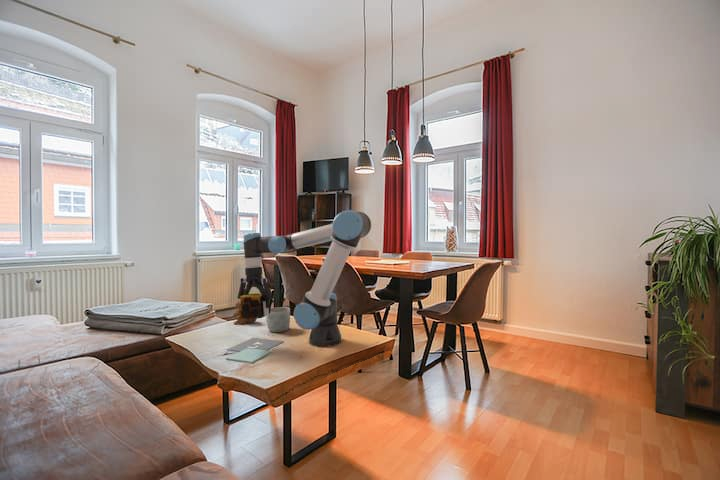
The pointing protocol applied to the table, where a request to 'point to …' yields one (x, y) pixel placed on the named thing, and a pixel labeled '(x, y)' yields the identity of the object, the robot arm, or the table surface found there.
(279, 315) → the planter
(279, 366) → the table surface
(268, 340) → the gray mat
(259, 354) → the pad
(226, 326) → the table surface
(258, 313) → the candle
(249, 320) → the stuffed squirrel
